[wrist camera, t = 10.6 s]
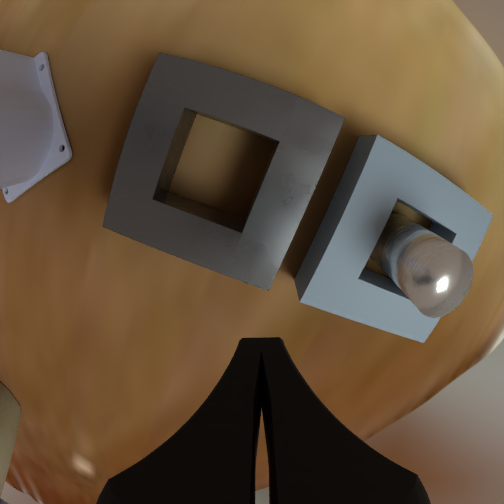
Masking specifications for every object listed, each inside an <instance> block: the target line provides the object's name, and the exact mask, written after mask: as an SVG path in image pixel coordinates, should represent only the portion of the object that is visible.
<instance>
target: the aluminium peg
mask: <svg viewBox="0 0 504 504" xmlns="http://www.w3.org/2000/svg"><path fill="white" fill-rule="evenodd" d="M370 256H371V257H372V259H373V260H374V261H375V262H376V263H377V264H378V265H379V266H380V267H381V268H382V269H383V270H384V271H385V272H386V274H387V275H388V276H389V277H390V278H391V279H392V280H393V281H394V282H395V283H396V285H397V286H398V287H399V288H400V289H401V290H402V291H403V292H404V294H405V295H406V296H407V297H408V298H409V299H410V300H411V302H412V303H413V304H414V305H415V306H416V307H417V309H418V310H419V311H420V312H421V313H422V314H423V315H425V316H427V317H432V318H436V317H441V316H444V315H446V314H448V313H450V312H452V311H453V310H454V309H456V308H457V307H458V306H459V305H460V303H461V302H462V301H463V300H464V298H465V297H466V295H467V293H468V291H469V289H470V286H471V283H472V278H473V266H472V262H471V259H470V257H469V256H468V254H467V253H466V252H464V251H463V250H461V249H460V248H458V247H457V246H455V245H453V244H452V243H450V242H448V241H447V240H445V239H443V238H442V237H440V236H438V235H437V234H435V233H433V232H431V231H430V230H428V229H426V228H424V227H423V226H421V225H419V224H417V223H415V222H414V221H412V220H410V219H408V218H406V217H405V216H403V215H400V214H397V213H391V214H390V216H389V218H388V220H387V223H386V225H385V227H384V229H383V231H382V233H381V235H380V237H379V239H378V241H377V243H376V245H375V247H374V249H373V251H372V253H371V255H370Z"/></svg>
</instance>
